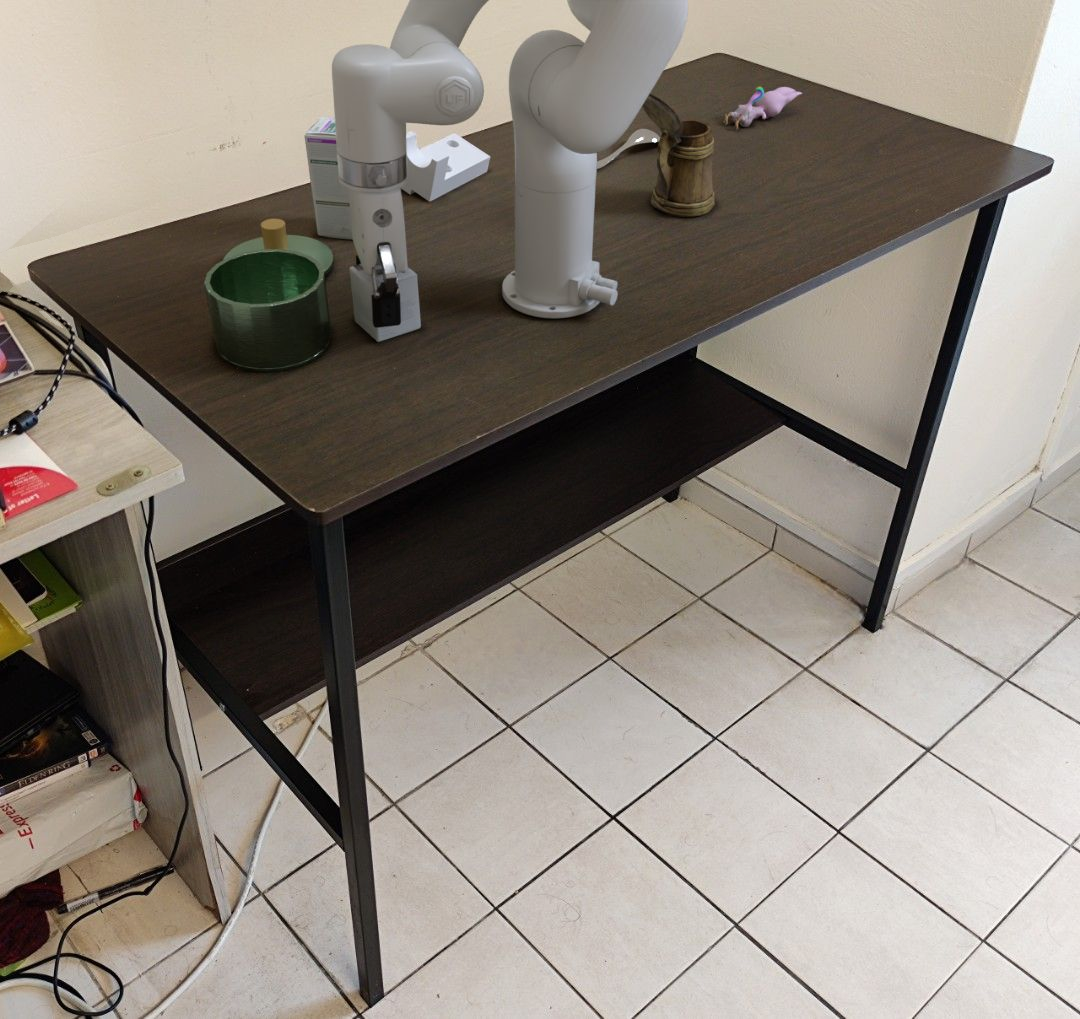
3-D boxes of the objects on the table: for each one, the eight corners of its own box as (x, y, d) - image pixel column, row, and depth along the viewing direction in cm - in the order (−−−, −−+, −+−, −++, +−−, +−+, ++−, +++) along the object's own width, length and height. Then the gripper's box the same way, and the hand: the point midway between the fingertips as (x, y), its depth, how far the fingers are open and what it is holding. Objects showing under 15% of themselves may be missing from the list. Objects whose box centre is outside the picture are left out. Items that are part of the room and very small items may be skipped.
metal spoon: (575, 156, 171) (554, 146, 174) (573, 180, 173) (552, 169, 176) (671, 130, 182) (650, 121, 185) (668, 153, 184) (647, 144, 187)
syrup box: (357, 241, 159) (347, 136, 150) (315, 236, 160) (303, 131, 150) (370, 222, 163) (362, 118, 154) (329, 217, 164) (318, 114, 155)
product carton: (422, 329, 142) (418, 273, 137) (376, 343, 139) (372, 287, 134) (397, 307, 146) (393, 252, 141) (353, 321, 143) (347, 266, 138)
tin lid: (355, 260, 155) (351, 216, 151) (285, 306, 145) (279, 260, 141) (273, 233, 160) (267, 190, 156) (200, 276, 151) (191, 231, 147)
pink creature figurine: (743, 142, 190) (811, 107, 195) (743, 107, 185) (813, 72, 190) (717, 129, 193) (784, 95, 199) (716, 94, 189) (785, 61, 194)
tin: (354, 332, 141) (347, 267, 136) (281, 384, 132) (271, 318, 127) (268, 301, 146) (259, 238, 141) (192, 350, 137) (179, 285, 132)
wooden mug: (616, 212, 167) (623, 84, 155) (679, 184, 174) (691, 60, 162) (663, 234, 162) (674, 103, 150) (726, 204, 169) (742, 78, 157)
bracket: (428, 207, 169) (436, 161, 163) (392, 182, 171) (399, 136, 165) (485, 177, 177) (495, 132, 171) (450, 153, 179) (459, 108, 173)
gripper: (423, 196, 124) (426, 338, 135) (390, 133, 137) (395, 267, 148) (352, 202, 122) (360, 345, 133) (325, 138, 135) (334, 273, 146)
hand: (378, 304), depth 140 cm, fingers open, 9 cm apart
